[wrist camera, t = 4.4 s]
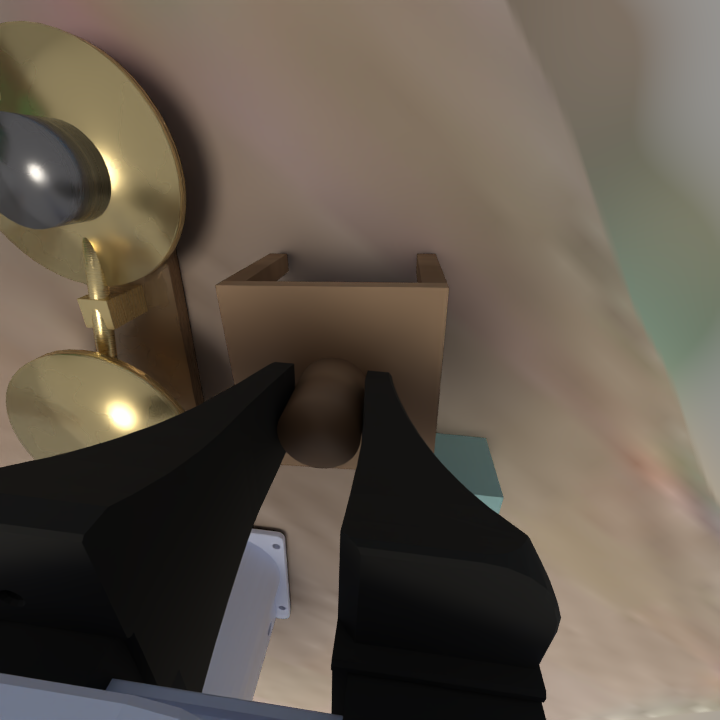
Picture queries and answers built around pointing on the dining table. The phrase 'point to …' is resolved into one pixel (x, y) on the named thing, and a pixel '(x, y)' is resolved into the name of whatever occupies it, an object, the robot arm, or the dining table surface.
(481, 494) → the block
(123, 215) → the balance
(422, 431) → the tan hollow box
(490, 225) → the dining table surface
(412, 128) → the dining table surface
